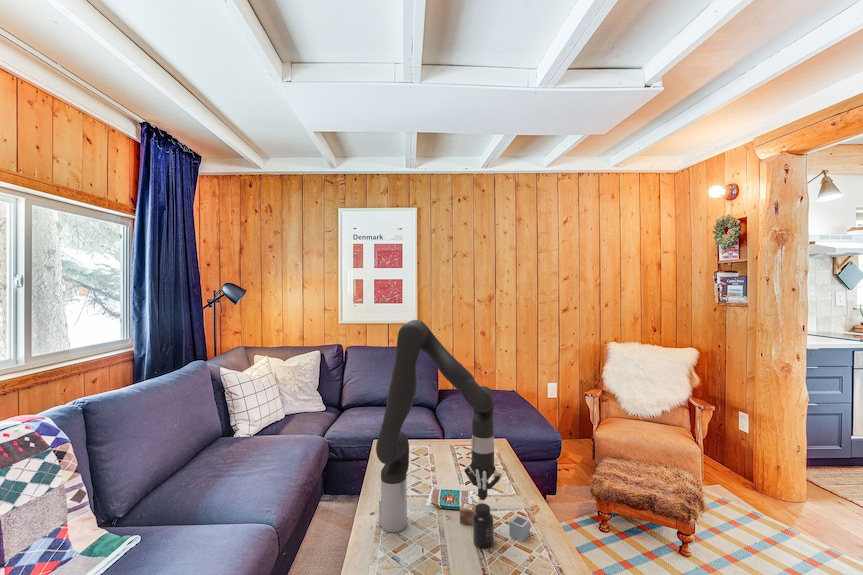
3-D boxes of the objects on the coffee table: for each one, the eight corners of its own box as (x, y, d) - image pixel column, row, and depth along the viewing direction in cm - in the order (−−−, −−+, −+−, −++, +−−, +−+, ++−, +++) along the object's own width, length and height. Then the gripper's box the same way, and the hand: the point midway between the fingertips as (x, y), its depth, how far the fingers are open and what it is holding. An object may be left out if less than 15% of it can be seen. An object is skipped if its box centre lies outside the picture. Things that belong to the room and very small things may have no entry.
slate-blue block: (509, 535, 137) (509, 520, 137) (516, 528, 141) (516, 514, 141) (522, 542, 134) (522, 526, 134) (529, 534, 137) (529, 519, 137)
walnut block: (460, 523, 144) (459, 509, 144) (462, 515, 149) (462, 501, 149) (473, 525, 143) (473, 511, 143) (476, 517, 148) (476, 503, 147)
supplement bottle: (491, 535, 137) (491, 501, 137) (495, 548, 130) (495, 512, 130) (471, 536, 137) (471, 501, 137) (474, 549, 130) (474, 513, 130)
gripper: (460, 448, 133) (460, 499, 133) (498, 456, 127) (498, 509, 127) (468, 440, 139) (468, 488, 140) (505, 447, 133) (505, 498, 134)
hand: (482, 498), depth 133 cm, fingers closed
